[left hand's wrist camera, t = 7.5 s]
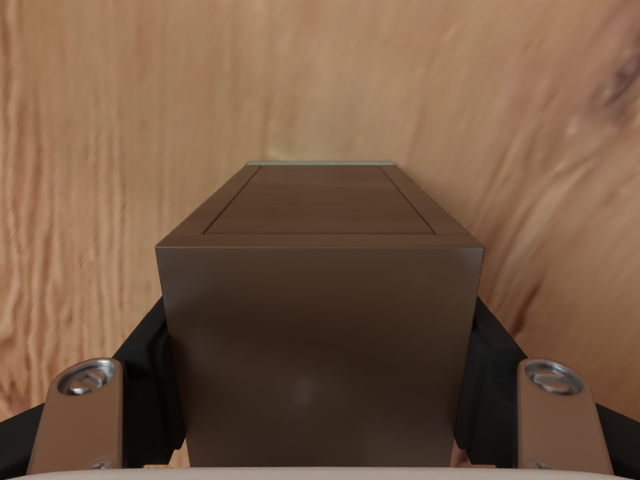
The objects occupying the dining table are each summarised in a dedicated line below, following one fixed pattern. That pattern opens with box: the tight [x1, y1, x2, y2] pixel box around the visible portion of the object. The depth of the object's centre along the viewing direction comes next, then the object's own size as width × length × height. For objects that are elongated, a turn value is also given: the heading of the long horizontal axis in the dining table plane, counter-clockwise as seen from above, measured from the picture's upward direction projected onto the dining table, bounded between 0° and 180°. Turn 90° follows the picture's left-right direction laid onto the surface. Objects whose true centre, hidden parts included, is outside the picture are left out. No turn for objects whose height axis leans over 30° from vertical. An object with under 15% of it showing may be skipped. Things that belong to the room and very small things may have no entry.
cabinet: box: [155, 162, 485, 468], centre depth 16 cm, size 17×7×11 cm, turn 0°
